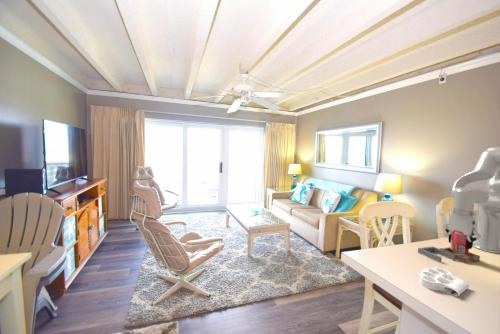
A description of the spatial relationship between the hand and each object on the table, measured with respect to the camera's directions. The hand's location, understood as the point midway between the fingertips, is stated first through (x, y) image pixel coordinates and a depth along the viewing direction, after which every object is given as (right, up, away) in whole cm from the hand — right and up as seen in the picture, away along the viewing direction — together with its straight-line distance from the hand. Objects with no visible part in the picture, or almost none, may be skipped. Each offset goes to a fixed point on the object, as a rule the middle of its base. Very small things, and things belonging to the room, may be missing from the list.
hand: (459, 245), depth 114 cm
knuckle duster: (-32, -8, -25) cm, 41 cm away
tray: (0, -6, 0) cm, 6 cm away
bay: (-13, -6, 0) cm, 14 cm away
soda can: (0, -4, 0) cm, 4 cm away
